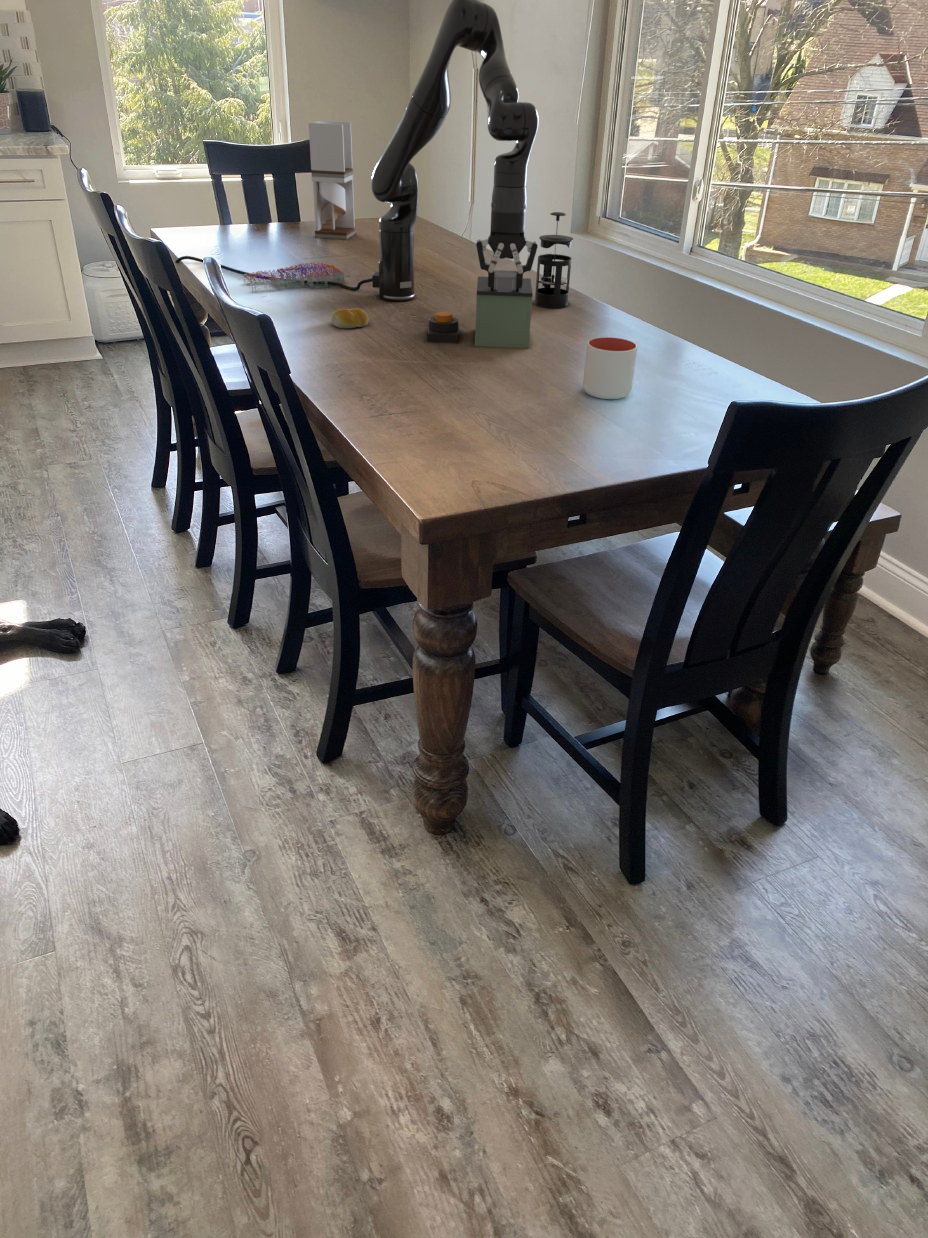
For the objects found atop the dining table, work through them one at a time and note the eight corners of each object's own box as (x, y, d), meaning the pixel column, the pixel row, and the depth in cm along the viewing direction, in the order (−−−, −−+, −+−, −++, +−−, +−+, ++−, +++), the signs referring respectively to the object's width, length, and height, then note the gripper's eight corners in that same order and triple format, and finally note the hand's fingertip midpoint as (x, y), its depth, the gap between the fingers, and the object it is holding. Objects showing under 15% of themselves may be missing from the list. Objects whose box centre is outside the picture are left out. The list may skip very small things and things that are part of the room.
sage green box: (528, 348, 208) (532, 295, 201) (474, 346, 208) (476, 293, 201) (527, 331, 219) (530, 282, 212) (475, 329, 219) (477, 279, 213)
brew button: (451, 323, 210) (451, 316, 209) (434, 322, 210) (434, 315, 209) (452, 319, 213) (452, 311, 212) (435, 318, 213) (435, 310, 212)
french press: (573, 308, 239) (582, 215, 227) (539, 309, 238) (546, 215, 225) (560, 297, 249) (568, 208, 236) (528, 298, 247) (534, 208, 235)
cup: (577, 384, 187) (582, 336, 181) (624, 384, 188) (630, 337, 182) (587, 401, 178) (592, 351, 173) (636, 401, 179) (643, 351, 174)
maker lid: (532, 296, 200) (534, 273, 198) (476, 294, 201) (477, 271, 198) (530, 281, 212) (532, 259, 210) (477, 279, 213) (478, 257, 210)
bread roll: (374, 326, 219) (374, 309, 217) (341, 330, 215) (340, 313, 213) (358, 318, 225) (358, 301, 223) (326, 322, 221) (325, 305, 218)
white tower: (315, 237, 311) (308, 122, 291) (324, 231, 319) (318, 120, 300) (346, 239, 309) (342, 124, 290) (354, 233, 318) (351, 121, 299)
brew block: (457, 343, 209) (457, 325, 207) (427, 341, 209) (427, 324, 207) (458, 331, 218) (459, 314, 215) (430, 330, 218) (430, 313, 216)
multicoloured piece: (248, 294, 241) (247, 274, 238) (236, 281, 253) (234, 262, 250) (354, 286, 252) (353, 267, 249) (337, 275, 264) (337, 256, 261)
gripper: (541, 206, 196) (535, 287, 205) (476, 204, 196) (473, 284, 205) (542, 212, 189) (536, 294, 199) (475, 209, 189) (472, 292, 199)
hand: (504, 289), depth 202 cm, fingers closed on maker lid, 5 cm apart
